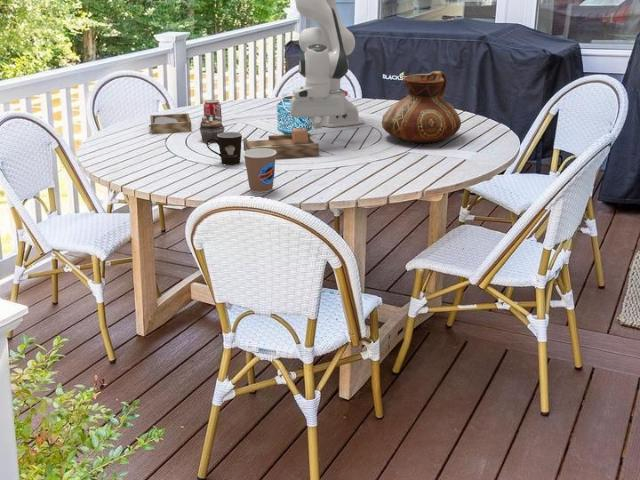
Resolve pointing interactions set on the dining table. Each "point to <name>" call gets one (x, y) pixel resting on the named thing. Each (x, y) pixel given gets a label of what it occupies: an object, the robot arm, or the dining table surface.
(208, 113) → the soda can
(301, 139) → the block
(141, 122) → the dining table surface
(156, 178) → the dining table surface
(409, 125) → the jug
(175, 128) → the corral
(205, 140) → the cupcake
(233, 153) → the coffee mug
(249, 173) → the coffee cup
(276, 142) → the trap box
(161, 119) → the stone block
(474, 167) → the dining table surface
